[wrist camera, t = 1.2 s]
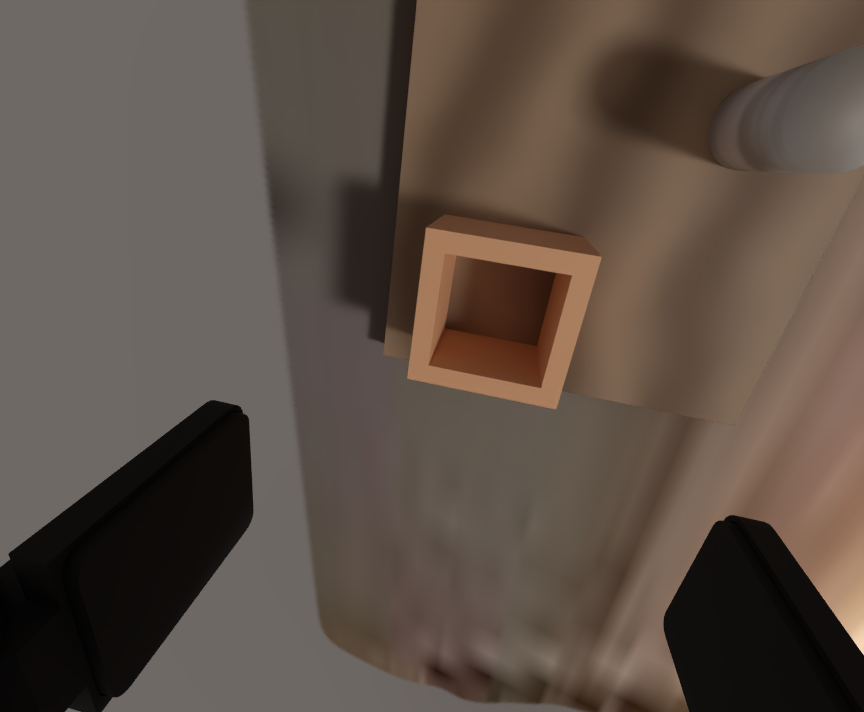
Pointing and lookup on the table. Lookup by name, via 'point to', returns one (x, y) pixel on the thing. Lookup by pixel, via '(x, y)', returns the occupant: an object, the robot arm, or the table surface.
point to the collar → (490, 357)
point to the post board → (636, 177)
